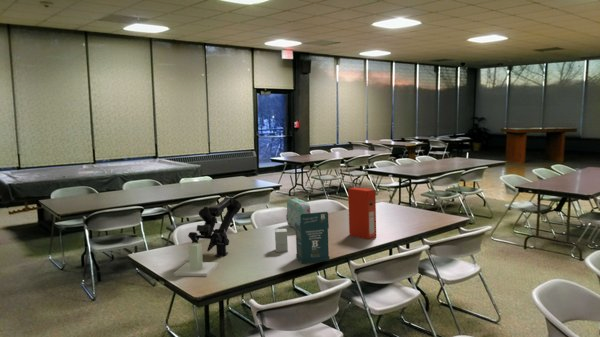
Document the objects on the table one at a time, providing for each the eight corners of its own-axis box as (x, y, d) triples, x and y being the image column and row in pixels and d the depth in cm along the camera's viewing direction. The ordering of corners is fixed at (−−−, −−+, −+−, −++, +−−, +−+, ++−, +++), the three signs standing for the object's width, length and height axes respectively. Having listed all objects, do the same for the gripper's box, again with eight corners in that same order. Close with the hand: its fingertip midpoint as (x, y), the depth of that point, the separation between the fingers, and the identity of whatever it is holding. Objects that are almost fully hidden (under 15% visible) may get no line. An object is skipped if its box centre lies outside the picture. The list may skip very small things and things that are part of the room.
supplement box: (287, 248, 279) (287, 228, 278) (287, 251, 272) (287, 231, 270) (275, 248, 279) (275, 228, 277) (275, 252, 271) (274, 231, 270)
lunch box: (284, 224, 342) (283, 197, 339) (297, 223, 346) (296, 195, 344) (299, 232, 318) (298, 202, 315) (312, 230, 322) (311, 200, 320)
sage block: (195, 265, 246) (193, 242, 245) (203, 266, 245) (201, 243, 243) (190, 268, 242) (188, 245, 240) (198, 269, 240) (196, 245, 238)
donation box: (302, 264, 248) (300, 214, 245) (294, 256, 263) (292, 208, 260) (329, 260, 252) (328, 211, 249) (320, 252, 267) (318, 206, 264)
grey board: (187, 264, 253) (186, 262, 253) (217, 265, 251) (217, 262, 251) (173, 275, 236) (173, 273, 235) (206, 276, 233) (206, 273, 233)
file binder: (368, 239, 293) (367, 191, 289) (349, 234, 306) (348, 188, 302) (376, 237, 298) (375, 189, 294) (357, 232, 311) (356, 187, 307)
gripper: (188, 218, 253) (179, 242, 244) (218, 219, 247) (209, 244, 238) (196, 228, 261) (187, 252, 252) (225, 229, 256) (217, 254, 246)
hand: (200, 250), depth 247 cm, fingers open, 9 cm apart
